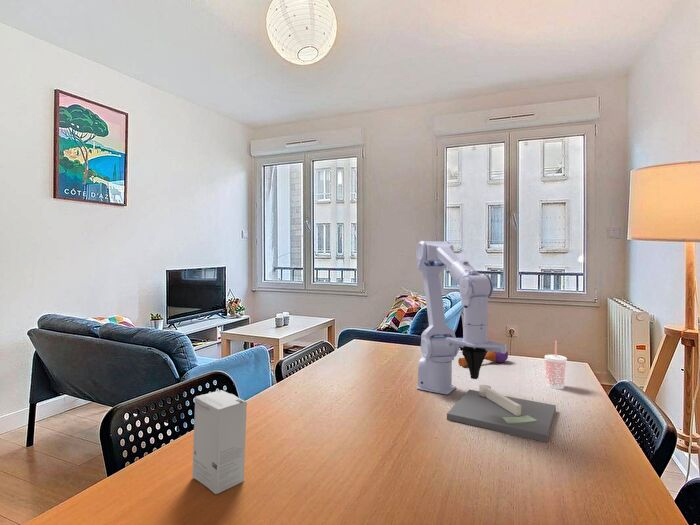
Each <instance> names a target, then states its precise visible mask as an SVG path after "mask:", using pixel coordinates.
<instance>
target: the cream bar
mask: <svg viewBox="0 0 700 525" xmlns="http://www.w3.org/2000/svg"><path fill="white" fill-rule="evenodd" d="M478 389H479V390H478V391H479V395H480V396H482V397H486V398H488V399H490V400H491V401H493V402H495V403H496V404H498V405H499V406H501V407H503V408H504V409H506V410H508V411H509V412H511V413H513V414H514V415H516V416H520V415H521V405H519V404H518V403H516V402H514V401H512V400H510V399H509V398H507V397H505V396H506V395H504V394H501V393H500V392H497V391H496V390H495V389H492V386H490V385H488V384H480V385H479V388H478Z"/></svg>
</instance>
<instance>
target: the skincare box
mask: <svg viewBox="0 0 700 525" xmlns="http://www.w3.org/2000/svg"><path fill="white" fill-rule="evenodd" d="M247 403H248V402H247V401H246V400H244V399H242V398H240V397H239V396H236V395H235V394H233V393H229V392H227V391H225V390H222V389H220V390H217V391H212V392H208V393H205V394H200V395H196V396H194V419H193V420H194V421H193V423H194V424H193V446H192V469H191V470H192V473H191V477H192V479H195V481H198V482H199V483H200V484H202V485H203V486H204V487H206V488H207V489H209V490H210V492H212V493H213V494H215V495H218V494H220V493H222V492H224V491H227V490H228V489H231V488H233V487H235V486H237V485H239V484H241V483H244V482H245V478H244V477H245V461H246V460H245V459H246V457H245V456H246V454H245V452H246V434H247V433H246V427H247V407H248V406H247Z"/></svg>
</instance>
